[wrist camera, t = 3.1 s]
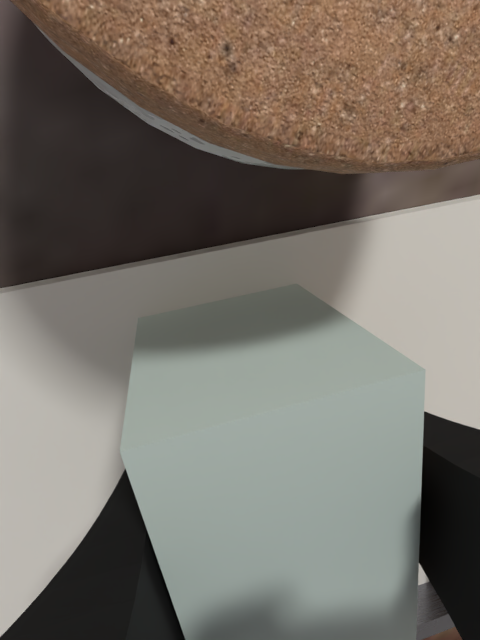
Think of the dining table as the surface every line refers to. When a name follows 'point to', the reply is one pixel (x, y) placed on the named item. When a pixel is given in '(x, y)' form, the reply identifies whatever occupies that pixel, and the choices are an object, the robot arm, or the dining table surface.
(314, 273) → the white square tray
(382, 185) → the dining table surface
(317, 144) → the lidded jar
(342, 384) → the carton
